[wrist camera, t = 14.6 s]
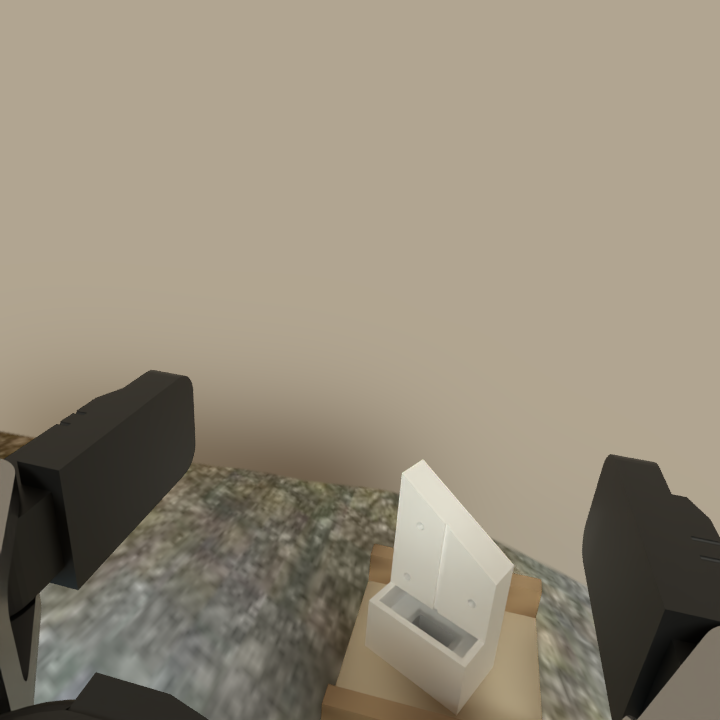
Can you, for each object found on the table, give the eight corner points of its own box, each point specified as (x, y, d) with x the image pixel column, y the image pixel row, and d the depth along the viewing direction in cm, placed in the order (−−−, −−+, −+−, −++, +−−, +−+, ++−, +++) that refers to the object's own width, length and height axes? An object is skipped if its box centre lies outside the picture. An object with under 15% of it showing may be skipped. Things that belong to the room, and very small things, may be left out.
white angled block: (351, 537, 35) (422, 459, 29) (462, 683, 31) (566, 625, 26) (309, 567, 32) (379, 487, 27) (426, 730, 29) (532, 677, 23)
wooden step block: (317, 790, 27) (322, 703, 25) (367, 617, 37) (374, 543, 35) (530, 856, 25) (556, 768, 23) (523, 654, 35) (540, 579, 33)
